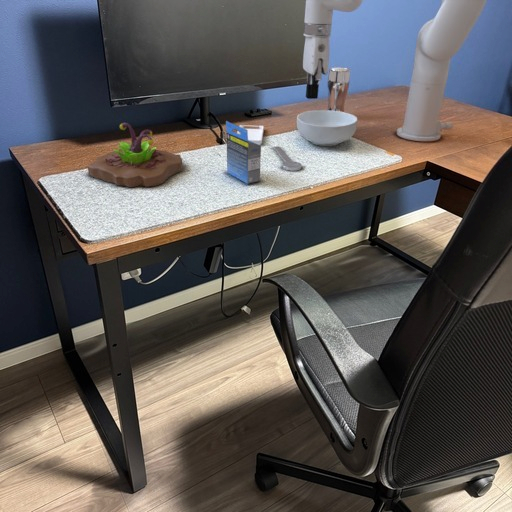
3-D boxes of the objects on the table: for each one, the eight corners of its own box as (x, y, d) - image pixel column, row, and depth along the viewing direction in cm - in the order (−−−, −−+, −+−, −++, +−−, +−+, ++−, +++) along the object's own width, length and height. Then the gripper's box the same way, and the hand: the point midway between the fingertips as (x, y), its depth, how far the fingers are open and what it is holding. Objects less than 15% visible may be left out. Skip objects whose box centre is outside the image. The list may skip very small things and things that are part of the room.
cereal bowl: (297, 132, 146) (299, 108, 142) (353, 135, 144) (356, 111, 141) (293, 149, 132) (295, 123, 128) (355, 153, 130) (359, 127, 126)
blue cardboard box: (261, 181, 111) (262, 127, 105) (247, 184, 109) (247, 130, 103) (239, 169, 117) (239, 118, 111) (225, 172, 115) (225, 120, 109)
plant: (127, 152, 126) (122, 108, 121) (194, 163, 120) (192, 118, 114) (75, 178, 110) (66, 128, 105) (148, 192, 104) (143, 141, 98)
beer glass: (348, 115, 164) (354, 68, 157) (340, 120, 159) (345, 71, 151) (329, 112, 167) (334, 66, 160) (321, 116, 162) (325, 69, 155)
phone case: (261, 145, 134) (263, 130, 147) (261, 140, 133) (263, 125, 146) (234, 144, 134) (239, 129, 147) (234, 139, 134) (239, 124, 147)
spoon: (284, 148, 132) (284, 145, 132) (303, 170, 118) (303, 167, 117) (268, 148, 132) (268, 146, 131) (285, 171, 117) (285, 168, 117)
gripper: (339, 33, 130) (332, 103, 139) (321, 27, 143) (315, 92, 152) (312, 33, 129) (307, 104, 138) (296, 27, 141) (292, 92, 151)
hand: (311, 97), depth 145 cm, fingers closed
